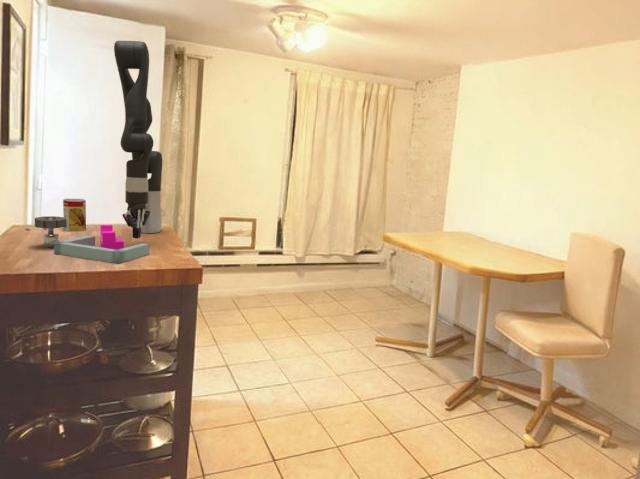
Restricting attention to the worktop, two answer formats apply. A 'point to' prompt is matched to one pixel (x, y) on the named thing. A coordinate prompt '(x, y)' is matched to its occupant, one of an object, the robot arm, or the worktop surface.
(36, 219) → the wheel
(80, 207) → the canned food
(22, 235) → the worktop surface
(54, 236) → the axle hub
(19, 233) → the worktop surface
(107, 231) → the toy block
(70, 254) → the grey u-shaped bracket
